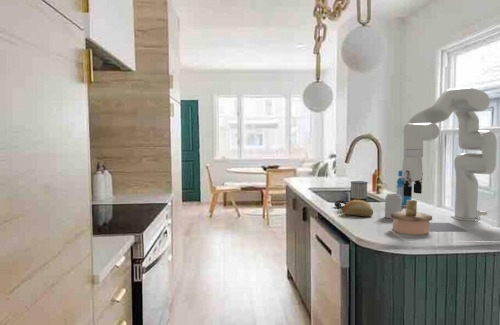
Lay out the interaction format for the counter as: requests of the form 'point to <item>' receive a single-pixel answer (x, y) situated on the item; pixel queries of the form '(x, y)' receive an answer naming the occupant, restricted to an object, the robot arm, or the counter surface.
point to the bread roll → (358, 208)
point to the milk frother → (356, 192)
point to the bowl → (410, 226)
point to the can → (392, 204)
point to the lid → (411, 213)
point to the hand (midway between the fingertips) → (412, 194)
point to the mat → (445, 227)
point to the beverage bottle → (400, 189)
